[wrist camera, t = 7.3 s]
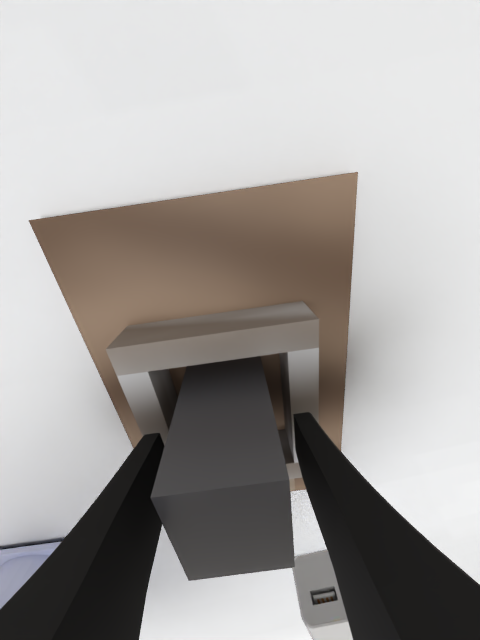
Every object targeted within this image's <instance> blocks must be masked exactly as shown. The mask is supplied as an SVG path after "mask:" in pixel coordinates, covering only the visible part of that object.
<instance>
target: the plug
mask: <svg viewBox="0 0 480 640" xmlns="http://www.w3.org/2000/svg"><path fill="white" fill-rule="evenodd" d="M150 498H151V500H152V502H153V504H154V506H155V509H156V511H157V513H158V515H159V517H160V519H161V522H162V524H163V526H164V528H165V530H166V532H167V535H168V537H169V539H170V541H171V543H172V545H173V547H174V550H175V552H176V554H177V556H178V558H179V560H180V563H181V565H182V567H183V569H184V571H185V573H186V575H187V578H188V580H189V581H191V580H198V579H206V578H214V577H222V576H230V575H238V574H245V573H253V572H261V571H269V570H277V569H285V568H292V567H295V561H294V545H293V529H292V513H291V497H290V481H289V476H288V471H287V467H286V463H285V459H284V454H283V450H282V446H281V442H280V437H279V433H278V429H277V425H276V420H275V416H274V412H273V408H272V404H271V399H270V395H269V391H268V387H267V382H266V378H265V374H264V370H263V365H262V361H261V357H260V356H256V357H249V358H242V359H235V360H228V361H220V362H213V363H206V364H199V365H192V366H187V367H186V371H185V374H184V378H183V382H182V385H181V389H180V392H179V396H178V400H177V403H176V407H175V411H174V414H173V418H172V421H171V425H170V429H169V432H168V436H167V439H166V443H165V447H164V450H163V454H162V458H161V461H160V465H159V468H158V472H157V476H156V479H155V483H154V486H153V490H152V494H151V497H150Z"/></svg>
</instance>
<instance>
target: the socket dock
mask: <svg viewBox="0 0 480 640" xmlns="http://www.w3.org/2000/svg"><path fill="white" fill-rule="evenodd" d="M357 177H358V172H355V173H348V174H341V175H335V176H328V177H321V178H314V179H307V180H301V181H294V182H287V183H280V184H273V185H267V186H260V187H253V188H246V189H239V190H233V191H226V192H219V193H212V194H205V195H199V196H192V197H185V198H178V199H171V200H165V201H158V202H151V203H144V204H137V205H131V206H124V207H117V208H110V209H103V210H97V211H90V212H83V213H76V214H69V215H63V216H56V217H49V218H42V219H36V220H29V222H30V224H31V226H32V229H33V231H34V233H35V235H36V237H37V240H38V242H39V244H40V246H41V248H42V250H43V253H44V255H45V257H46V259H47V261H48V263H49V266H50V268H51V270H52V272H53V274H54V276H55V279H56V281H57V283H58V285H59V287H60V289H61V292H62V294H63V296H64V298H65V300H66V302H67V305H68V307H69V309H70V311H71V313H72V316H73V318H74V320H75V322H76V324H77V326H78V329H79V331H80V333H81V335H82V337H83V339H84V342H85V344H86V346H87V348H88V350H89V352H90V355H91V357H92V359H93V361H94V363H95V365H96V368H97V370H98V372H99V374H100V376H101V378H102V381H103V383H104V385H105V387H106V389H107V392H108V394H109V396H110V398H111V400H112V402H113V405H114V407H115V409H116V411H117V413H118V415H119V418H120V420H121V422H122V424H123V426H124V428H125V431H126V433H127V435H128V437H129V439H130V441H131V444H132V446H133V448H135V447H136V445H137V444H138V442H139V441H140V440H141V438H142V437H143V436H144V435H145V434H152V433H160V435H161V438H162V440H163V443H164V446H165V443H166V439H167V436H168V432H169V429H170V425H171V421H172V418H173V414H174V411H175V407H176V403H177V400H178V396H179V392H180V389H181V385H182V382H183V378H184V374H185V371H186V367H187V366H192V365H199V364H206V363H213V362H220V361H228V360H235V359H242V358H249V357H256V356H260V357H261V361H262V365H263V370H264V374H265V378H266V382H267V387H268V391H269V395H270V399H271V404H272V408H273V412H274V416H275V420H276V425H277V429H278V433H279V437H280V442H281V446H282V450H283V454H284V459H285V463H286V467H287V471H288V476H289V481H290V491H297V490H304V489H306V487H305V484H304V481H303V478H302V474H301V470H300V466H299V462H298V458H297V454H296V450H295V433H294V415H293V414H298V413H305V412H310V413H311V414H312V415H313V417H314V418H315V419H316V421H317V422H318V424H319V425H320V426H321V428H322V429H323V430H324V431H325V433H326V434H327V435H328V437H329V438H330V439H331V440H332V442H333V443H334V444H335V445H336V446H337V448H338V449H339V450H340V451H341V441H342V424H343V408H344V391H345V375H346V358H347V342H348V325H349V309H350V292H351V276H352V260H353V243H354V227H355V210H356V194H357Z"/></svg>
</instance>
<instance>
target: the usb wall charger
mask: <svg viewBox="0 0 480 640" xmlns="http://www.w3.org/2000/svg"><path fill="white" fill-rule="evenodd" d="M294 561H295V567H292V569H293V574H294V580H295V585H296V591H297V596H298V601H299V607H300V612H301V617H302V620H303V622H304V624H305V626H306V627H307V629H308V631H309V633H310V635H311V637H312V639H313V640H353V638H352V634H351V630H350V627H349V623H348V619H347V616H346V612H345V608H344V605H343V601H342V597H341V594H340V590H339V587H338V583H337V579H336V576H335V572H334V569H333V566H332V562H331V559H330V556H329V553H328V550H323V551H318V552H314V553H309V554H305V555H300V556H296V557H295V558H294Z"/></svg>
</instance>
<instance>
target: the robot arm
mask: <svg viewBox="0 0 480 640" xmlns="http://www.w3.org/2000/svg"><path fill="white" fill-rule="evenodd" d="M293 415H294V433H295V450H296V454H297V458H298V462H299V466H300V470H301V474H302V478H303V481H304V484H305V487H306V490H307V493H308V496H309V498H310V501H311V504H312V507H313V510H314V513H315V516H316V518H317V521H318V524H319V527H320V530H321V533H322V536H323V538H324V541H325V544H326V547H327V550H328V553H329V556H330V559H331V562H332V566H333V569H334V572H335V576H336V579H337V583H338V587H339V590H340V594H341V597H342V601H343V605H344V608H345V612H346V616H347V619H348V623H349V627H350V630H351V634H352V638H353V640H480V585H479V584H478V583H477V582H476V581H475V580H473V579H472V578H471V577H470V576H469V575H468V574H466V573H465V572H464V571H463V570H462V569H461V568H459V567H458V566H457V565H456V564H455V563H454V562H452V561H451V560H450V559H449V558H448V557H447V556H445V555H444V554H443V553H442V552H441V551H440V550H438V549H437V548H436V547H435V546H434V545H433V544H432V543H431V542H429V541H428V540H427V539H426V538H425V537H424V536H423V535H422V534H421V533H420V532H419V531H417V530H416V529H415V528H414V527H413V526H412V525H411V524H410V523H409V522H408V521H407V520H406V519H405V518H404V517H403V516H401V515H400V514H399V513H398V512H397V511H396V510H395V509H394V508H393V507H392V506H391V505H390V504H389V503H388V502H387V501H386V500H385V499H384V498H383V497H382V496H381V495H380V494H379V493H378V492H377V491H376V490H375V489H374V488H373V487H372V486H371V484H370V483H369V482H368V481H367V480H366V479H365V478H364V477H363V476H362V475H361V474H360V473H359V472H358V471H357V469H356V468H355V467H354V466H353V465H352V464H351V463H350V462H349V460H348V459H347V458H346V457H345V456H344V455H343V453H342V452H341V451H340V450H339V449H338V448H337V446H336V445H335V444H334V443H333V442H332V440H331V439H330V438H329V437H328V435H327V434H326V433H325V431H324V430H323V429H322V428H321V426H320V425H319V424H318V422H317V421H316V419H315V418H314V417H313V415H312V414H311V413H310V412H305V413H298V414H293ZM164 447H165V446H164V443H163V440H162V438H161V435H160V433H152V434H145V435H144V436H143V437H142V438H141V440H140V441H139V442H138V444H137V445H136V447H135V448H134V449H133V451H132V452H131V453H130V455H129V456H128V458H127V459H126V460H125V462H124V463H123V464H122V466H121V467H120V469H119V470H118V471H117V473H116V474H115V475H114V477H113V478H112V479H111V481H110V482H109V483H108V485H107V486H106V487H105V489H104V490H103V491H102V493H101V494H100V495H99V497H98V498H97V499H96V500H95V502H94V503H93V504H92V505H91V507H90V508H89V509H88V510H87V512H86V513H85V514H84V515H83V517H82V518H81V519H80V520H79V522H78V523H77V524H76V525H75V527H74V528H73V529H72V530H71V531H70V533H69V534H68V535H67V536H66V537H65V539H64V540H63V541H62V542H54V543H47V544H39V545H32V546H24V547H17V548H9V549H2V550H0V640H139V635H140V629H141V623H142V617H143V611H144V605H145V598H146V593H147V588H148V583H149V578H150V574H151V569H152V565H153V561H154V557H155V553H156V548H157V544H158V540H159V536H160V531H161V527H162V522H161V519H160V517H159V515H158V513H157V511H156V509H155V506H154V504H153V502H152V500H151V498H150V497H151V494H152V490H153V486H154V483H155V479H156V476H157V472H158V468H159V465H160V461H161V458H162V454H163V450H164Z"/></svg>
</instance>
